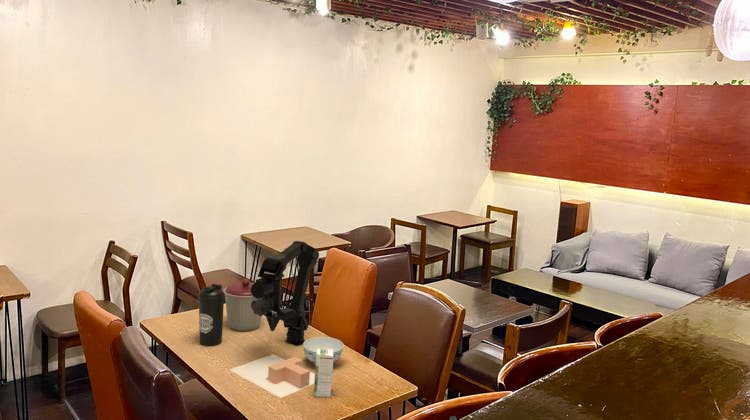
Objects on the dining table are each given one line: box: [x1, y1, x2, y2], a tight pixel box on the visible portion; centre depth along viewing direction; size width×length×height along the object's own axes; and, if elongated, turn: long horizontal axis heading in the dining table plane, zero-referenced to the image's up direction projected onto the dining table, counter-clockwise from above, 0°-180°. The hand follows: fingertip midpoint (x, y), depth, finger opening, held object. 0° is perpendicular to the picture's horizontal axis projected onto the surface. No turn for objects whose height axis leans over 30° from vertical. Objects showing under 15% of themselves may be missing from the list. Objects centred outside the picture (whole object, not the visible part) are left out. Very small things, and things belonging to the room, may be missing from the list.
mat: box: [229, 353, 315, 399], centre depth 199 cm, size 20×28×1 cm
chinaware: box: [302, 336, 345, 366], centre depth 210 cm, size 15×15×8 cm
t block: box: [268, 356, 311, 390], centre depth 194 cm, size 12×12×5 cm
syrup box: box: [313, 349, 334, 398], centre depth 187 cm, size 6×6×14 cm
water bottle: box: [197, 283, 226, 347], centre depth 222 cm, size 10×10×23 cm
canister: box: [222, 278, 263, 332], centre depth 241 cm, size 18×18×21 cm
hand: (272, 330), depth 212 cm, fingers closed
